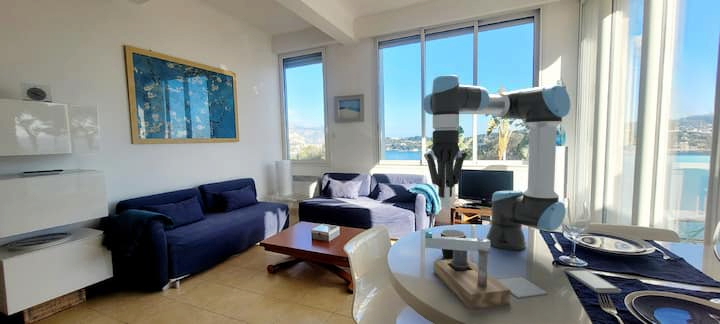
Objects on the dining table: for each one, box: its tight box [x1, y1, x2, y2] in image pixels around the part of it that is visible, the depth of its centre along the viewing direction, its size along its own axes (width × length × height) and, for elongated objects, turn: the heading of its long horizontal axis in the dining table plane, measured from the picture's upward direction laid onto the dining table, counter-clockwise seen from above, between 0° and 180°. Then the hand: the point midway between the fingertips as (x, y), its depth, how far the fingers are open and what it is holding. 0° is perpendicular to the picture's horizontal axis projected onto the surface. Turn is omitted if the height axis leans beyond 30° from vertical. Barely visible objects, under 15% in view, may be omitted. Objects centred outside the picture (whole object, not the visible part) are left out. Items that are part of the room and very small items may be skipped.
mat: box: [497, 276, 548, 299], centre depth 88 cm, size 10×10×1 cm
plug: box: [451, 250, 469, 272], centre depth 94 cm, size 5×5×13 cm
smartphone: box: [563, 267, 622, 294], centre depth 92 cm, size 7×1×15 cm
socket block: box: [433, 252, 512, 310], centre depth 89 cm, size 12×22×14 cm, turn 12°
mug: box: [440, 228, 467, 260], centre depth 111 cm, size 12×9×10 cm
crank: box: [424, 231, 491, 254], centre depth 83 cm, size 18×4×4 cm, turn 77°
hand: (445, 207), depth 88 cm, fingers closed
